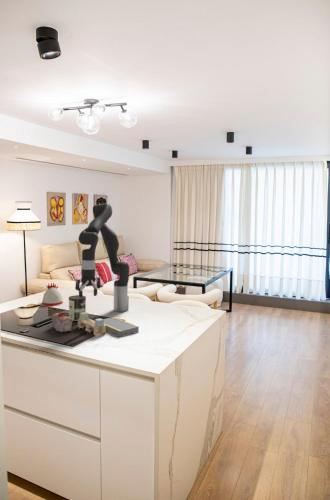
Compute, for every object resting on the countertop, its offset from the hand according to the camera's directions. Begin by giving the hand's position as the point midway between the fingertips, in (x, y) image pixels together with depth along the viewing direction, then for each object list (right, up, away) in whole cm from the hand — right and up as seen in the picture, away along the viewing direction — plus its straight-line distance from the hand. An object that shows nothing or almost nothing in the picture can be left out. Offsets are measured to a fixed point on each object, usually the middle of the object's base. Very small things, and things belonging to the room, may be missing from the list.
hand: (88, 296), depth 205 cm
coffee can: (-11, -17, +22) cm, 30 cm away
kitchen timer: (-38, -12, +59) cm, 71 cm away
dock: (+15, -19, +6) cm, 25 cm away
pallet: (+2, -19, +1) cm, 20 cm away
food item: (-15, -19, +2) cm, 25 cm away
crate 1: (-4, -14, +6) cm, 16 cm away
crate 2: (+7, -15, -5) cm, 18 cm away
